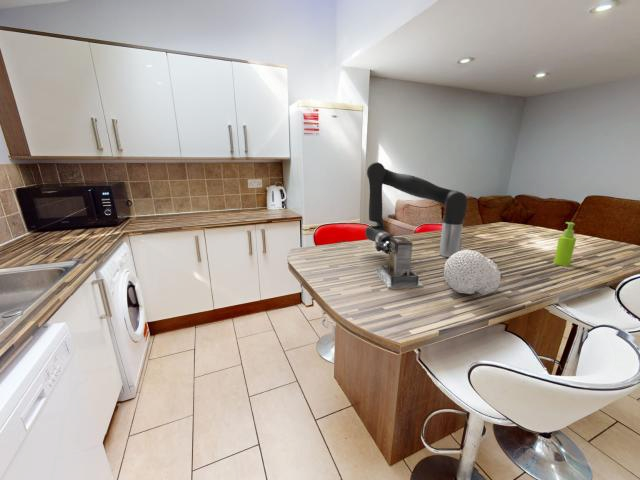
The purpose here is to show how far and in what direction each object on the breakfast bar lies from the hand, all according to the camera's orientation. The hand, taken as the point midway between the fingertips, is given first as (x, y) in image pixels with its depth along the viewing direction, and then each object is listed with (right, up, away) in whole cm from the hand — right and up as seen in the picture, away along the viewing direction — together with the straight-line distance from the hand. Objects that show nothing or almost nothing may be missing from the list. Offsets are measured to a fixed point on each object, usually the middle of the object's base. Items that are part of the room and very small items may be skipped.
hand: (398, 251), depth 113 cm
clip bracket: (0, -12, +1) cm, 12 cm away
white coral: (+24, -14, -9) cm, 29 cm away
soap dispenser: (+83, -7, +17) cm, 85 cm away
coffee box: (0, -11, +1) cm, 11 cm away
